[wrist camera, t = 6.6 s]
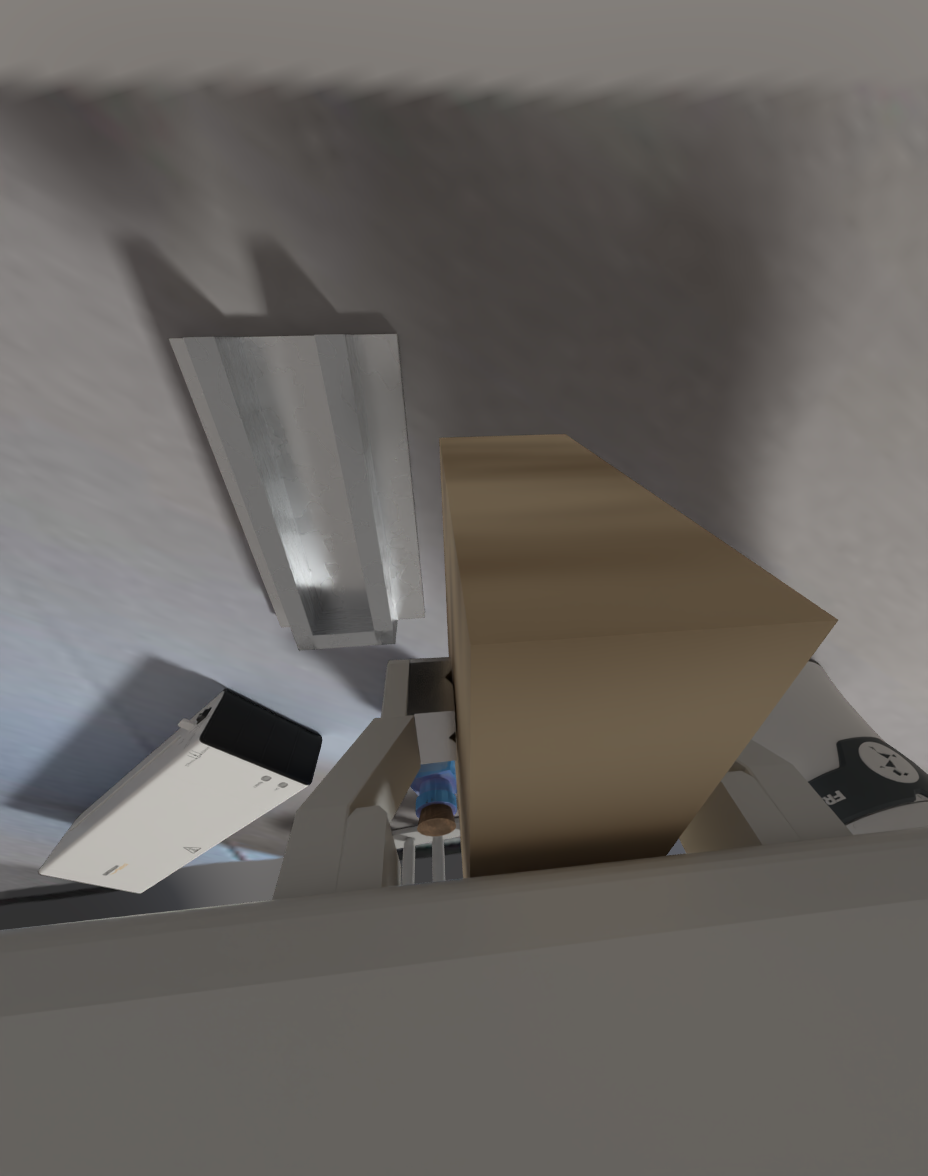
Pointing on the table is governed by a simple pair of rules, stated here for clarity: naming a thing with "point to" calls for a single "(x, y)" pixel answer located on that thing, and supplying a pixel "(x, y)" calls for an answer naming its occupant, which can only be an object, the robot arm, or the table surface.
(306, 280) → the table surface
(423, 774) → the perfume bottle
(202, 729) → the laminator
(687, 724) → the tan wooden block
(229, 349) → the floor track
